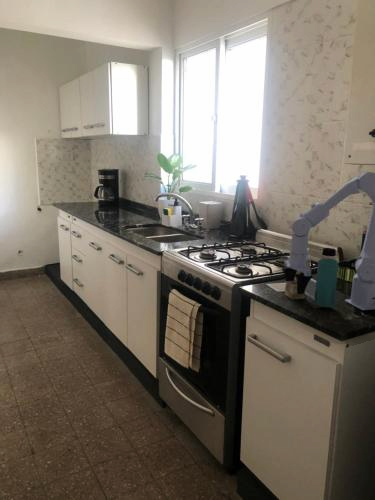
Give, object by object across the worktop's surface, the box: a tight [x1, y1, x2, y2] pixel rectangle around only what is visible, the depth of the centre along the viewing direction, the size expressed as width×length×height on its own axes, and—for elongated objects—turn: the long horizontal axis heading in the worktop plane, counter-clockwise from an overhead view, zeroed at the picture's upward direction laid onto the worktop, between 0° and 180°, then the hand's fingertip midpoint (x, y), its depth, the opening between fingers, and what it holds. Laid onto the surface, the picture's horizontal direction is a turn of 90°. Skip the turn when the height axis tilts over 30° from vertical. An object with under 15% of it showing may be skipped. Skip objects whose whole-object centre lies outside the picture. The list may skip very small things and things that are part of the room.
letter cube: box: [284, 280, 306, 300], centre depth 148 cm, size 5×5×5 cm
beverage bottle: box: [313, 247, 339, 308], centre depth 135 cm, size 6×7×20 cm
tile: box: [265, 282, 286, 293], centre depth 158 cm, size 9×9×1 cm
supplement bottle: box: [294, 248, 312, 281], centre depth 168 cm, size 7×7×13 cm
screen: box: [305, 278, 316, 302], centre depth 148 cm, size 8×3×6 cm, turn 16°
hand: (294, 290), depth 148 cm, fingers open, 7 cm apart
